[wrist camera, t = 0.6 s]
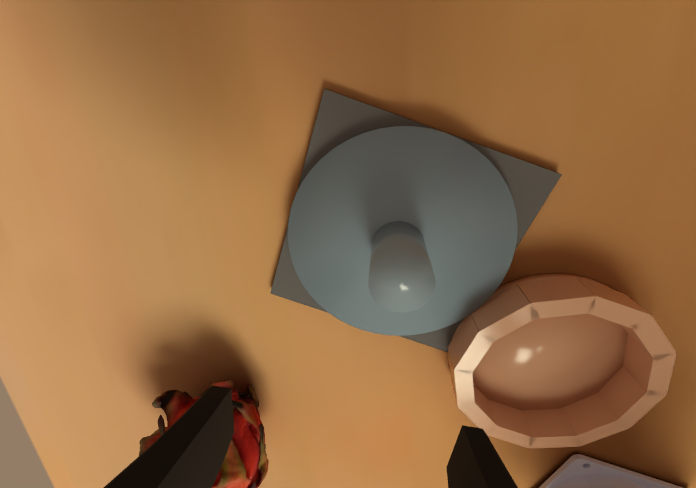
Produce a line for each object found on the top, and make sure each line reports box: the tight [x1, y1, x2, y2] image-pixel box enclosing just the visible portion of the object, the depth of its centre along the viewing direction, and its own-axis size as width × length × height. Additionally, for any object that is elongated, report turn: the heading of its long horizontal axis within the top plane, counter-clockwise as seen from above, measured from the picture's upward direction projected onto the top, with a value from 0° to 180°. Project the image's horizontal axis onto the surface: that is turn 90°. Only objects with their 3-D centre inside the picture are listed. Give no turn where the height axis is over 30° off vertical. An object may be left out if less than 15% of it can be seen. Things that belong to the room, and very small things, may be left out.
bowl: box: [448, 274, 677, 448], centre depth 19 cm, size 11×11×2 cm
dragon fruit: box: [139, 380, 268, 488], centre depth 22 cm, size 8×8×12 cm
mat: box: [271, 89, 562, 352], centre depth 18 cm, size 12×12×1 cm
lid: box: [288, 126, 518, 336], centre depth 16 cm, size 12×12×5 cm
